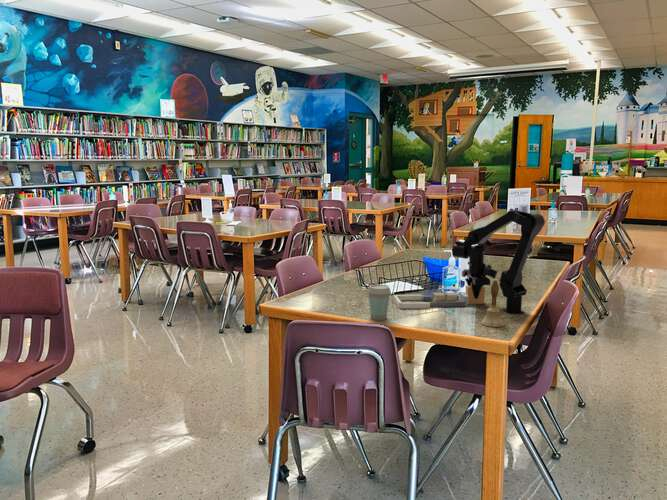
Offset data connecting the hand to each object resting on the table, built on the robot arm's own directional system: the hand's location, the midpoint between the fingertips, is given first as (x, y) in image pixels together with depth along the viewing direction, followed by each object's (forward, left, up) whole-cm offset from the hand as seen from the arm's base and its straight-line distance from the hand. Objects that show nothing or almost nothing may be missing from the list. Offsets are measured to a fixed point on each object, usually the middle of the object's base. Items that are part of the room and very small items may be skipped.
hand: (474, 297), depth 240 cm
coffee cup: (-20, +43, -2) cm, 47 cm away
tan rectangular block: (0, 0, -2) cm, 2 cm away
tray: (0, +26, -2) cm, 26 cm away
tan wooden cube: (0, +15, -2) cm, 15 cm away
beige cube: (0, +10, -2) cm, 10 cm away
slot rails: (0, +13, -2) cm, 13 cm away
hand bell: (-30, +3, -2) cm, 30 cm away
